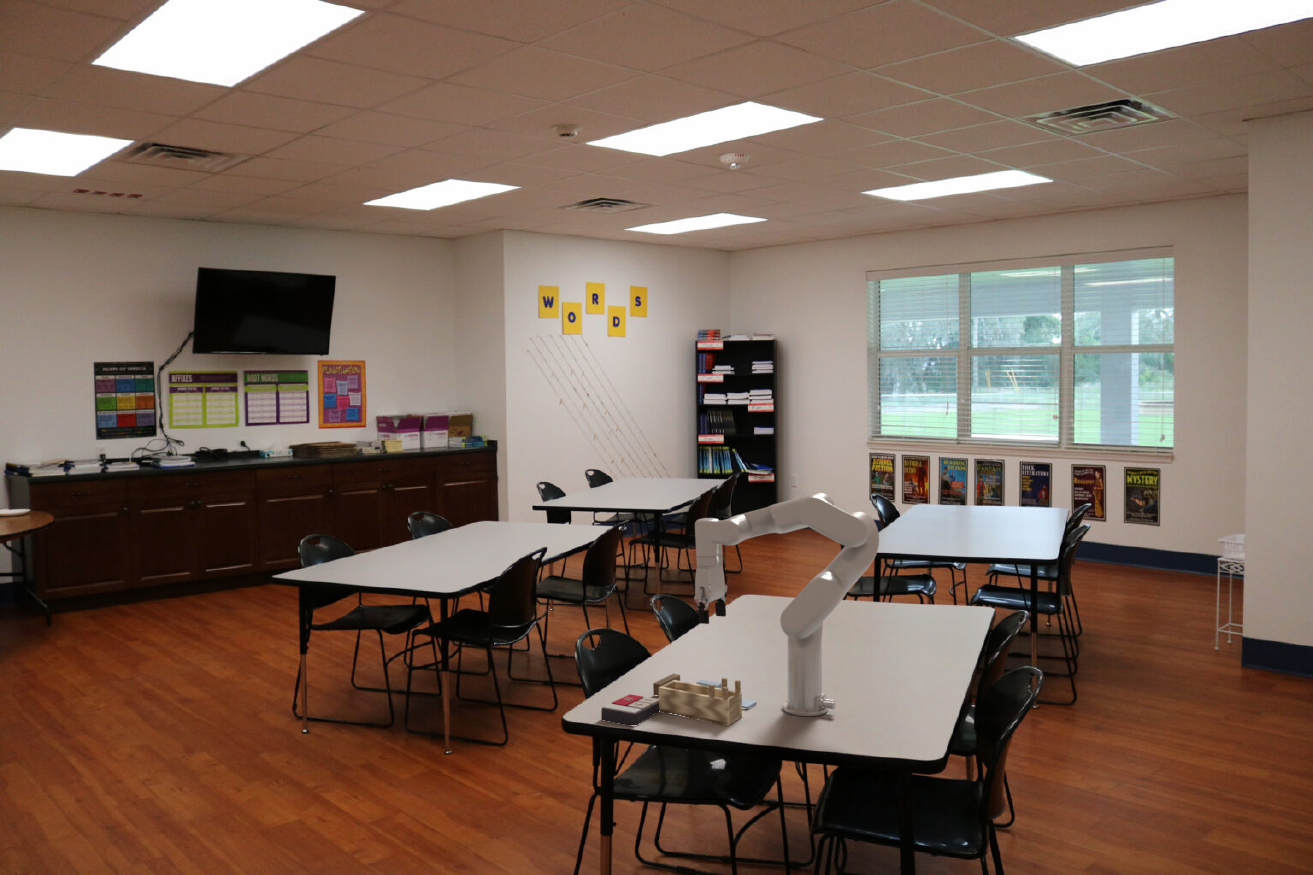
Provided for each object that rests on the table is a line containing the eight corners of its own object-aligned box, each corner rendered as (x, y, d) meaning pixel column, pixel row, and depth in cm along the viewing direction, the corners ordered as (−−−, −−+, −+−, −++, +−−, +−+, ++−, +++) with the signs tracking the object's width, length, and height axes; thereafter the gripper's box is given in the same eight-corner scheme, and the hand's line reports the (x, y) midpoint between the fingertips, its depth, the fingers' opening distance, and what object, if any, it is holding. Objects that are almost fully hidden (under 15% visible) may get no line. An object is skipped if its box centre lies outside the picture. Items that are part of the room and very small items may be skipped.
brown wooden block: (680, 687, 282) (680, 674, 282) (660, 697, 273) (660, 684, 273) (673, 686, 283) (673, 673, 283) (653, 696, 274) (653, 683, 274)
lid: (758, 703, 266) (758, 686, 266) (745, 711, 259) (745, 694, 259) (693, 691, 278) (692, 674, 278) (679, 698, 272) (678, 682, 271)
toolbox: (742, 717, 255) (741, 680, 254) (727, 726, 248) (727, 688, 247) (674, 703, 267) (673, 668, 266) (659, 711, 260) (658, 676, 260)
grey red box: (662, 698, 262) (635, 711, 249) (662, 713, 262) (634, 727, 249) (629, 692, 267) (600, 705, 254) (629, 707, 267) (600, 721, 254)
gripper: (713, 555, 278) (716, 612, 278) (682, 565, 263) (686, 625, 264) (735, 556, 274) (738, 614, 274) (705, 566, 259) (708, 627, 260)
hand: (712, 619), depth 269 cm, fingers open, 9 cm apart
